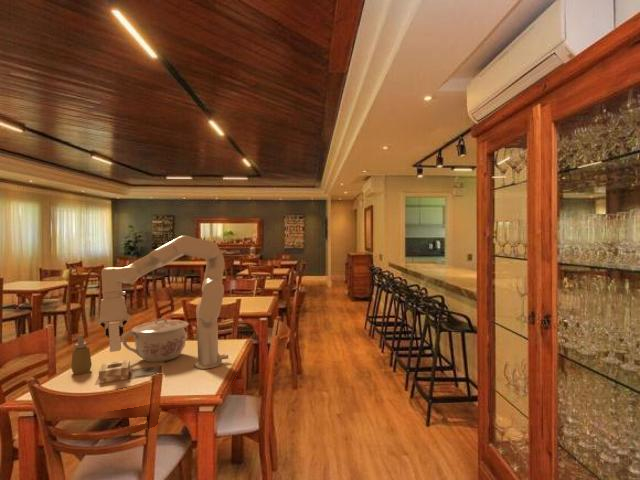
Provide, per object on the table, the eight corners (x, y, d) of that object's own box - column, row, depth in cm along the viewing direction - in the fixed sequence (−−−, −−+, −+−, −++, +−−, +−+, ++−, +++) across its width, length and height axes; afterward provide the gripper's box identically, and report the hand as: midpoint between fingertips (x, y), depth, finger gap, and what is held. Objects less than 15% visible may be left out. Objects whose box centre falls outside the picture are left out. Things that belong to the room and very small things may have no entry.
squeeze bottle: (88, 370, 181) (86, 332, 181) (94, 373, 176) (93, 335, 175) (68, 375, 175) (67, 336, 174) (75, 379, 169) (73, 339, 169)
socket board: (161, 367, 181) (161, 355, 181) (161, 376, 170) (161, 363, 169) (99, 376, 171) (98, 363, 171) (94, 387, 159) (94, 373, 159)
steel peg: (121, 348, 171) (119, 321, 170) (120, 350, 167) (118, 323, 167) (111, 349, 169) (109, 322, 169) (109, 352, 165) (108, 324, 165)
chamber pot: (198, 350, 208) (197, 312, 208) (174, 367, 181) (173, 324, 180) (150, 350, 211) (148, 313, 210) (119, 367, 183) (117, 324, 183)
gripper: (134, 292, 174) (136, 331, 175) (92, 296, 168) (94, 337, 168) (133, 294, 167) (135, 335, 168) (89, 298, 161) (91, 341, 161)
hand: (114, 335), depth 168 cm, fingers closed on steel peg, 4 cm apart
